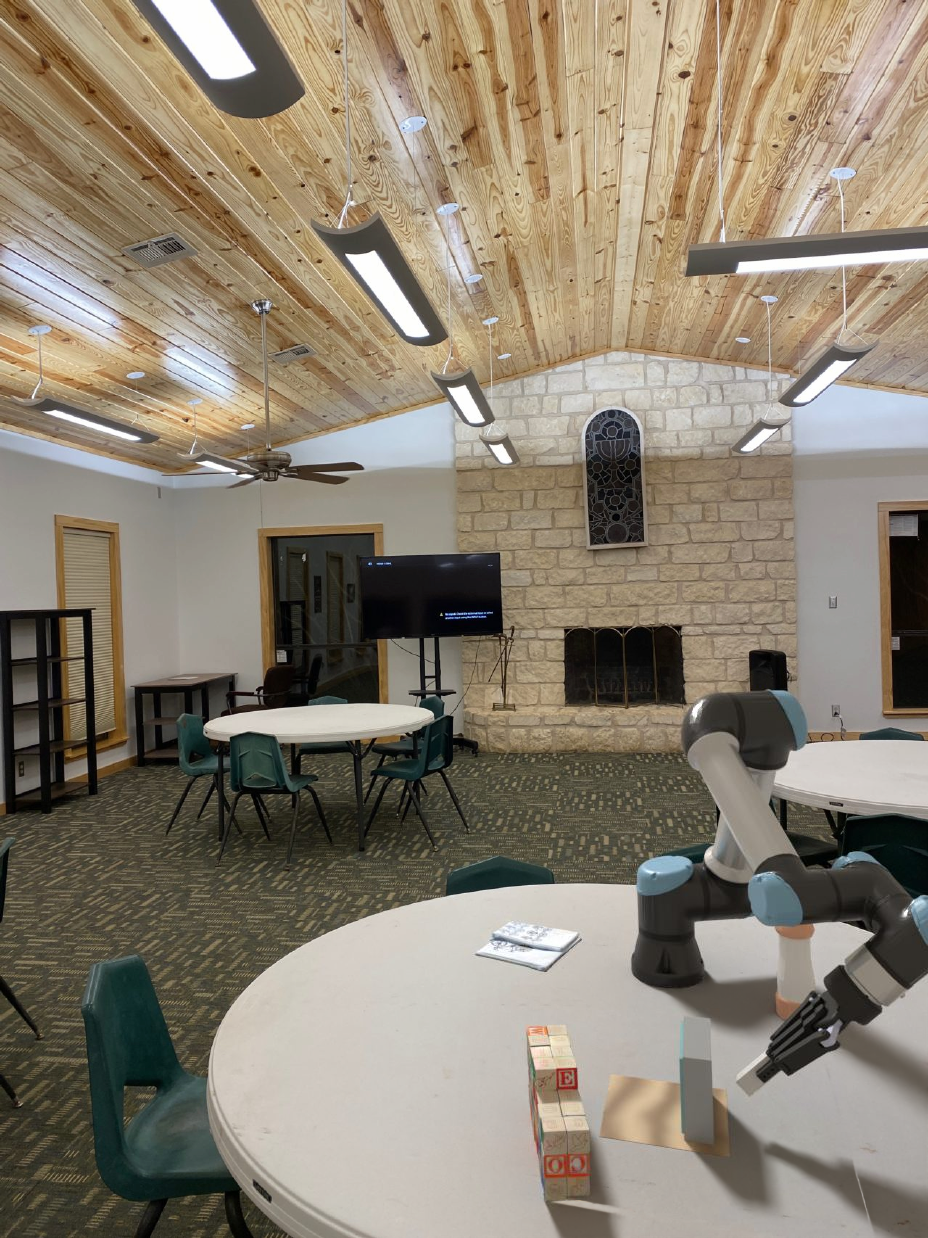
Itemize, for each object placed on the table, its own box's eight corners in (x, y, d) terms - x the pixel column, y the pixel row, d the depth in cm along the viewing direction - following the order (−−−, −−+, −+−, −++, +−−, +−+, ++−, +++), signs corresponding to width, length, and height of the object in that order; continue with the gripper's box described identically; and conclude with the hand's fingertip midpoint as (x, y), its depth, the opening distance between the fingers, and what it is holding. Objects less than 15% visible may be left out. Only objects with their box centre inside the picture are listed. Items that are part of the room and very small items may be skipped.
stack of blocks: (591, 1201, 103) (589, 1107, 103) (544, 1203, 103) (541, 1109, 103) (567, 1101, 124) (565, 1023, 124) (528, 1102, 124) (525, 1024, 124)
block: (712, 1095, 123) (710, 1018, 123) (714, 1145, 112) (711, 1060, 112) (683, 1091, 124) (680, 1015, 124) (681, 1140, 113) (679, 1056, 113)
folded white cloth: (582, 941, 186) (582, 932, 186) (544, 975, 169) (544, 965, 169) (512, 926, 196) (511, 917, 196) (469, 957, 179) (469, 947, 179)
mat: (726, 1093, 124) (725, 1089, 124) (730, 1161, 109) (729, 1157, 109) (611, 1078, 130) (610, 1074, 130) (599, 1140, 114) (599, 1136, 114)
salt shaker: (818, 1008, 150) (815, 908, 150) (817, 1027, 143) (814, 922, 143) (777, 1002, 153) (774, 903, 153) (774, 1019, 146) (771, 917, 146)
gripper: (895, 1030, 104) (765, 1135, 109) (874, 985, 117) (758, 1081, 122) (850, 985, 106) (724, 1092, 111) (834, 946, 118) (721, 1043, 123)
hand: (742, 1086), depth 116 cm, fingers closed
